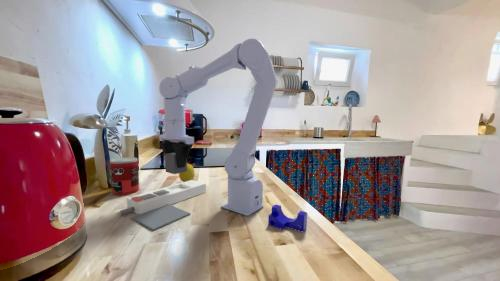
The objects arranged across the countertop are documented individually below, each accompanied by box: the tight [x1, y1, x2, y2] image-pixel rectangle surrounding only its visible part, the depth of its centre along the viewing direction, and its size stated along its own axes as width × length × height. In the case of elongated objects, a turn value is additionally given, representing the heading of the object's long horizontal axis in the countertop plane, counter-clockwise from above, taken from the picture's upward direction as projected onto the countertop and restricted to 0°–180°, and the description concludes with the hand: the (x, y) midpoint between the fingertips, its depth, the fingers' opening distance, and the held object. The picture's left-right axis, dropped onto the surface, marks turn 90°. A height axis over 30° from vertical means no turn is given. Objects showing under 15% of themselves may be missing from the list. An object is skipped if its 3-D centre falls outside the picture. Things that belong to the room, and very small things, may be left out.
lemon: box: [178, 162, 196, 183], centre depth 80 cm, size 6×6×8 cm
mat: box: [130, 204, 191, 232], centre depth 54 cm, size 10×10×1 cm
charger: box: [164, 153, 188, 175], centre depth 64 cm, size 4×4×6 cm
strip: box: [119, 179, 207, 216], centre depth 64 cm, size 25×7×4 cm, turn 144°
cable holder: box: [267, 204, 308, 233], centre depth 49 cm, size 8×4×4 cm, turn 57°
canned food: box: [109, 156, 140, 196], centre depth 71 cm, size 8×8×11 cm
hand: (176, 166), depth 64 cm, fingers closed on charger, 4 cm apart
